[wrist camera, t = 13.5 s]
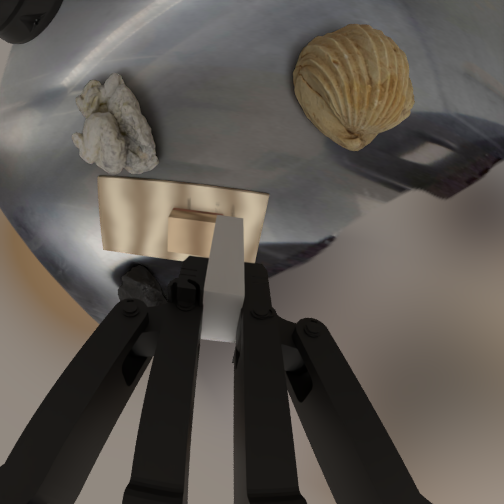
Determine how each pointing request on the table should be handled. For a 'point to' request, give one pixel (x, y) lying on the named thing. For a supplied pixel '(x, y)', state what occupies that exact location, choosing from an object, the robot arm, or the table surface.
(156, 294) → the mineral
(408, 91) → the fossil
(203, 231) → the block
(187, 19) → the table surface
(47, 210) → the table surface
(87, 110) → the mineral
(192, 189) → the board
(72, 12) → the table surface
